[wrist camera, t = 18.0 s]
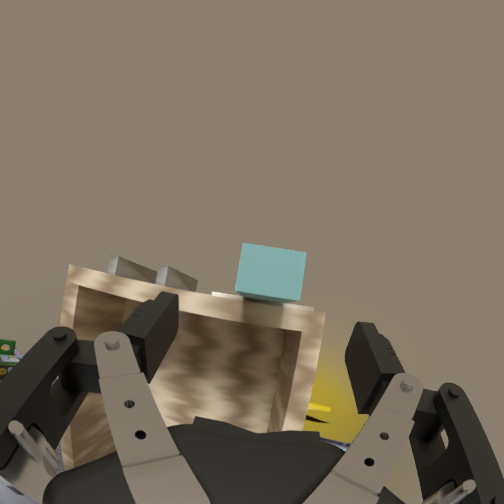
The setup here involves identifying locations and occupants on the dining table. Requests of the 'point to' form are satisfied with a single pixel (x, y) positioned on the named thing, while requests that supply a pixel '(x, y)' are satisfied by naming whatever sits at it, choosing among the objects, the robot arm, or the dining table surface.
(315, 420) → the dining table surface
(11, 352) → the chalk box
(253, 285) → the bar
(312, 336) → the wooden stand
